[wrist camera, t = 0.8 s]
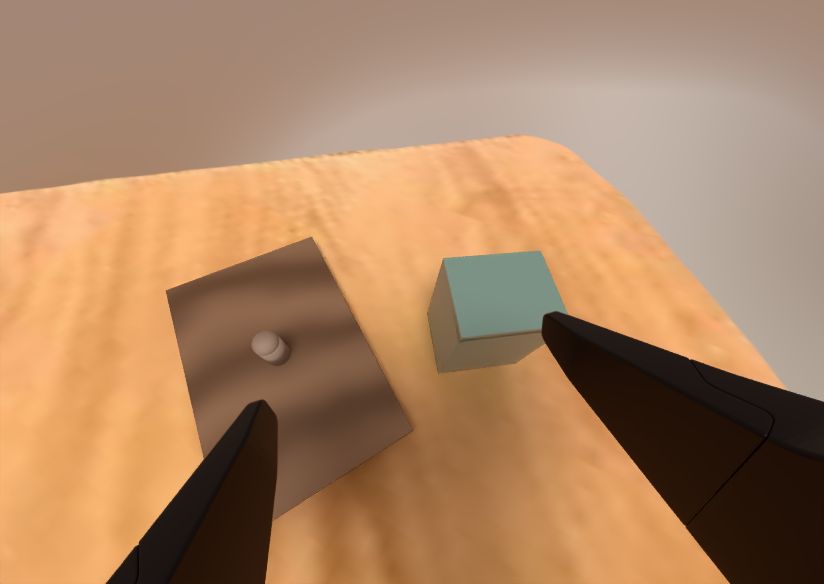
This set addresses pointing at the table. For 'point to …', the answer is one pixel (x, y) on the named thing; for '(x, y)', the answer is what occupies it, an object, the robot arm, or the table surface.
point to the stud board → (285, 366)
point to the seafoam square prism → (490, 309)
